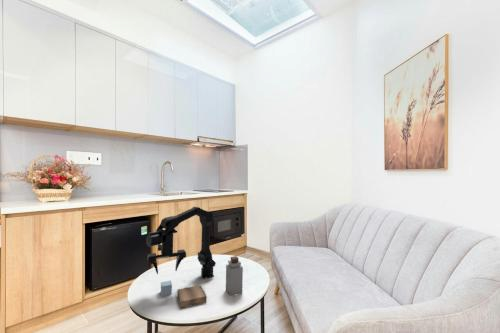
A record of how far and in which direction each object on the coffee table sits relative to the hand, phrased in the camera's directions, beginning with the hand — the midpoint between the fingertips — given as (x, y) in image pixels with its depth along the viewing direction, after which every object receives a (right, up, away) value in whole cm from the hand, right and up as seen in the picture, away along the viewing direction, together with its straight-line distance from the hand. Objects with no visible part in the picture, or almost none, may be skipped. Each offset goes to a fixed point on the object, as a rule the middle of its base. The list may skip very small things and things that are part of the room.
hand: (166, 272), depth 118 cm
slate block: (0, -11, 0) cm, 11 cm away
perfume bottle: (+35, -12, +2) cm, 37 cm away
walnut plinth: (+14, -11, -6) cm, 19 cm away
